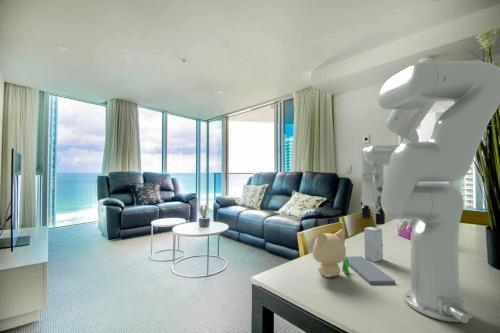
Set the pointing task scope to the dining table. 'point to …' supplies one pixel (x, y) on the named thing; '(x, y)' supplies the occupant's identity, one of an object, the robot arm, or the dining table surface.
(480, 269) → the dining table surface
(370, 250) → the skincare box
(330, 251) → the kitten
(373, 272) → the mat
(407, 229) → the candy bar box
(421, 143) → the robot arm
